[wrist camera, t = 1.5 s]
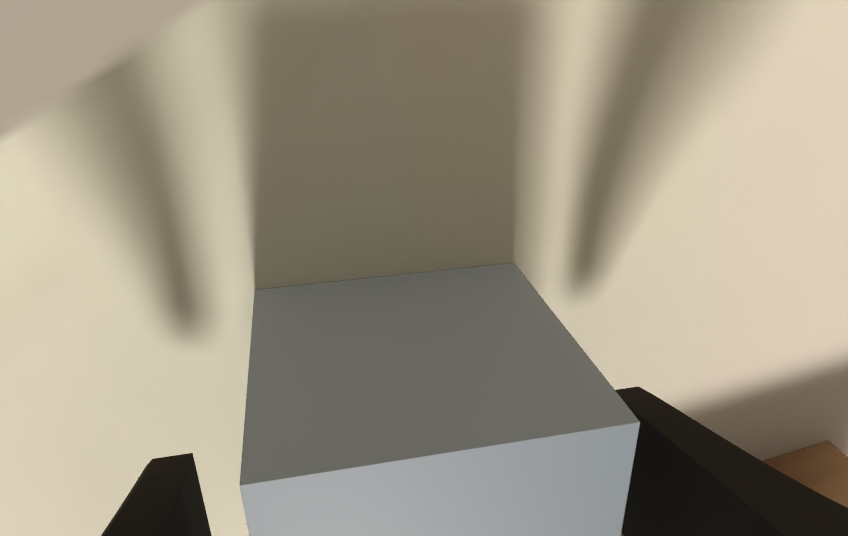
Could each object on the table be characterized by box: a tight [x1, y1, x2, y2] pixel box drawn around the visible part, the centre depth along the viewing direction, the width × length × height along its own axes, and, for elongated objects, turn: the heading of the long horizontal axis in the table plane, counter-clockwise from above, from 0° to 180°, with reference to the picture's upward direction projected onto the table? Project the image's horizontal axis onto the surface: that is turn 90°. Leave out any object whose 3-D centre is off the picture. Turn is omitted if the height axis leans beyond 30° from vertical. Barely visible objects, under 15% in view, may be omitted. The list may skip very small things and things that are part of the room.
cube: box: [240, 263, 640, 536], centre depth 11 cm, size 5×5×5 cm
